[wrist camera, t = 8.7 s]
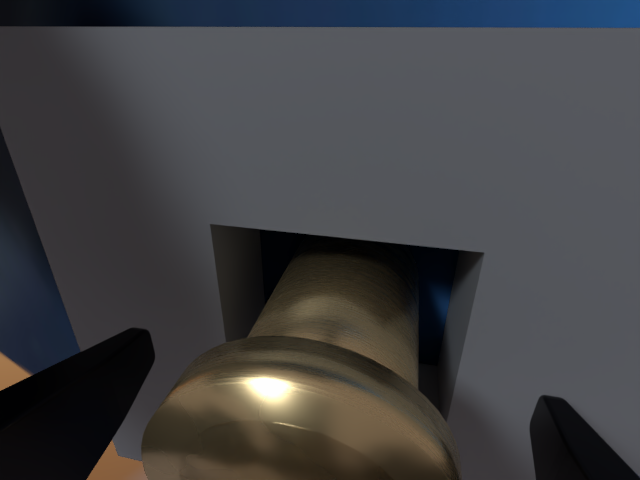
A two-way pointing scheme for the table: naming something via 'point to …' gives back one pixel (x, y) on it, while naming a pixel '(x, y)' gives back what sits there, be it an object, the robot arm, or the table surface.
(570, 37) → the flange socket
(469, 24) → the table surface
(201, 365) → the brass fitting
